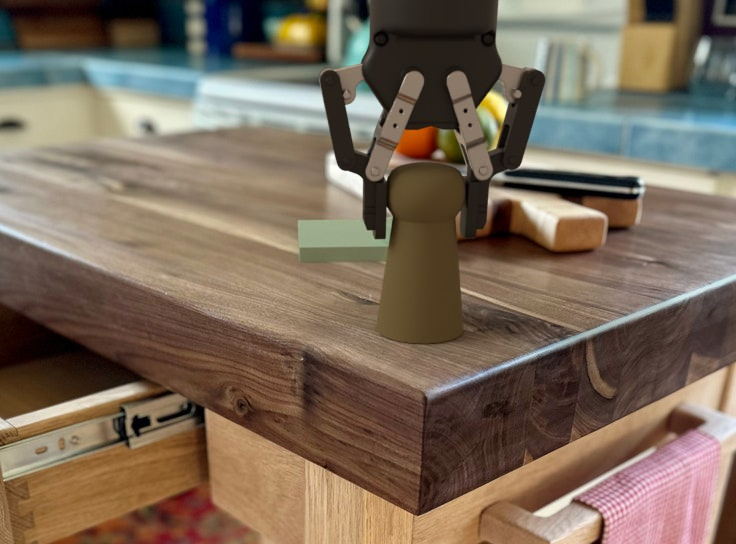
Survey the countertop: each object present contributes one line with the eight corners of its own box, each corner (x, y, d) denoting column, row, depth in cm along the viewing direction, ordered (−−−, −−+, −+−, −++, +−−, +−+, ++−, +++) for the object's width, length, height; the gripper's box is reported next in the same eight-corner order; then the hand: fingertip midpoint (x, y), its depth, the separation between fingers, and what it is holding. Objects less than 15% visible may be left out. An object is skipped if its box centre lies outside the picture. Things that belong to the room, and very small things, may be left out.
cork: (357, 326, 60) (358, 163, 55) (419, 307, 64) (425, 153, 59) (419, 350, 56) (426, 176, 51) (482, 329, 59) (494, 164, 55)
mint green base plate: (430, 232, 84) (431, 201, 83) (449, 263, 74) (451, 228, 73) (298, 234, 83) (297, 203, 82) (299, 265, 74) (299, 230, 72)
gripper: (312, -60, 46) (315, 253, 53) (579, -59, 47) (547, 250, 54) (309, -52, 53) (312, 224, 60) (542, -52, 54) (518, 222, 61)
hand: (423, 235), depth 57 cm, fingers closed on cork, 5 cm apart
